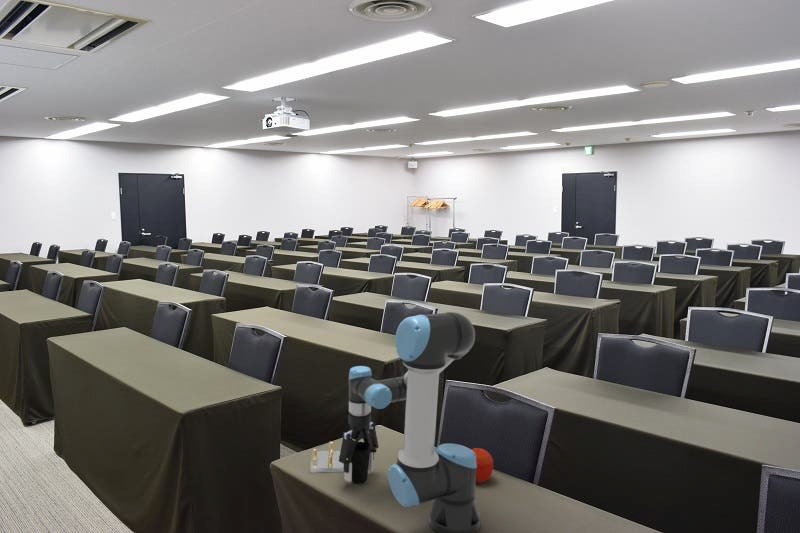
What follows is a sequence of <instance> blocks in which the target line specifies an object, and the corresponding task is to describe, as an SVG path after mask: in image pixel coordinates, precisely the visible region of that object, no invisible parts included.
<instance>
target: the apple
mask: <svg viewBox="0 0 800 533" xmlns="http://www.w3.org/2000/svg"><path fill="white" fill-rule="evenodd" d="M470 449H471V448H470ZM471 450H472V451H473V452H474V453H475V455H476V465H477V468H476V484H481V483H485V482H486V481H487V480H489V479H490V478H491V477H492V473H493V470H494V459H493V457H492V456H491V453H490V452H489V451H487V450H485V449H483V448H479V447H474V448H472V449H471Z"/></svg>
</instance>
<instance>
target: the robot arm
mask: <svg viewBox="0 0 800 533" xmlns="http://www.w3.org/2000/svg"><path fill="white" fill-rule="evenodd" d="M394 340H395V341H394V344H395V348H396V353H397V355H398V357H399V358H400V359H401V360H402V364H403V365H404V366H405V367H406V369H407V371H406V372H405V373H404V374H403V375H402V376H398V377H392V378H387V379H386V378H385V379H381V380H375V379H374V378H373V377H372V376H373V374H372V369H371V368H370V367H369V366H365V365H357V366H353V367H351V368H350V369H349V373H348V424H349V426H350V427H349V431H347V432H345V431H344V432H342V442H341V447H340V450H339V451H340V456H339V462H341V463H343V464H344V472H343V473H344V478H343V480H345V481H346V482H349V483H353V482H352V463H351V462H350V461H351V458H352V456H353V453H354V450H355V447H356V444H358V442H360V441H361V440H363V442H365V443H368V444H369V445H370V457H369V466H368V472H373V471H374V459H375V454H376V453H377V449H378V448H380V447H379V442H378V437H377V431H376V426H377V424H376V423H375V422H373V421H371V420H372V414H371V412H372V407H373V408H374V409H377V410H382V409H385V408H387V406H389V405H390V403H396V402H400V401H405V414H404V416H405V417H404V434H403V447H402V449H400V450H399V451H398V453H397V458H396V459H397V460H396V463H393V464H392V465H390V467H389V468H388V472H387V477H388V483H389V487H390V489H391V492H392V495H393V496H394V498H395V500H396V501H397V502H398V503H399V504H400V505H401V506H403V507H406V508H409V507H413V506H419V505H420V504H424V503H427V502H430V501H433V503H432V506H431V507H430V510H429V514H428V515H429V516H428V521H429V522H428V523H429V525H430V527H431V528H432V530H434V531H435V533H477V532H478V531H479V530H480V528H481V515H480V512H479V508H478V505H477V501H476V485H477V483H476V468H477V465H476V455H475V453H474V452H473V451H472V450H471V448H469V447H466V446H464V445H461V444H457V443H449V442H448V443H441V444H439V445H438V446H437V448H436V451H435V443H436V442H435V441H436V440H435V439H436V428H437V427H436V425H437V424H436V423H437V413H438V412H437V411H438V410H437V409H438V397H439V396H438V395H439V382H440V380H439V379H440V373H442V372H443V371H444V370H445V369H446V368H448V366H450V364H452V362H453V361H455V360H460V359H462V358H463V357H464V356H465V355H466V354H468V353H469V352H470V350H471V349H472V347H473V346H474V344H475V341H476V330H475V327H474V325H473V324H472V322H471V320H469V318H468V317H466V316H465V315H463V314H462V313H459V312H453V311H449V312H442V313H439V312H438V313H431V314H429V313H427V314H417V315H413V316H408V317H406V318H404V319H403V320H402V321H401V322H400V324H399V325H398V327H397V330H396V332H395V339H394ZM347 459H348V460H347Z"/></svg>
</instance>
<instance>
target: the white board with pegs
mask: <svg viewBox="0 0 800 533" xmlns="http://www.w3.org/2000/svg"><path fill="white" fill-rule="evenodd" d="M328 443H329V444H328V448H329V449H328V450H318V449H317V448H315V447H313V448H312V451H311V452H312V453H311V459H310V466H309V473H310V474H311V473H312V474H313V473H315V474H316V473H345V472H344V464H343V463H341V462H339V456H340V451H341V450H334V444H335V443H334V440H333V441H332V440H330V441H329V442H328ZM347 460H348V459H347Z"/></svg>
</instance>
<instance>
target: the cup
mask: <svg viewBox="0 0 800 533" xmlns="http://www.w3.org/2000/svg"><path fill="white" fill-rule="evenodd" d="M369 457H370V445H369V444H368V443H365V442H364V441H359V442H358V444H356V447H355V450H354V453H353V456H352V458H351V461H350V462H351V463H352V482H351V483H352V484H356V485H359V484H360V485H361V484H364V483H366V482H367V480H368V473H369V470H368V466H369Z"/></svg>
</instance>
